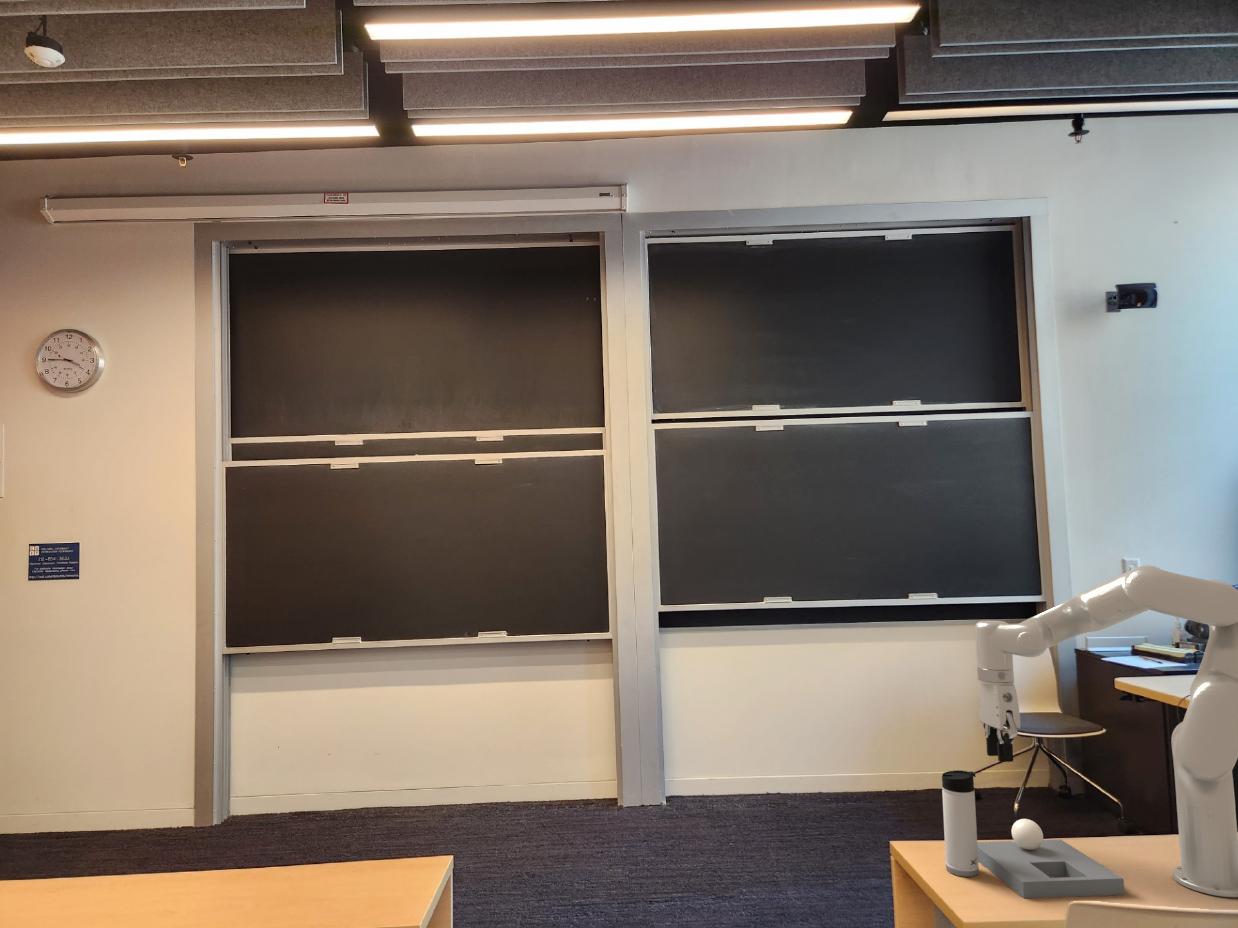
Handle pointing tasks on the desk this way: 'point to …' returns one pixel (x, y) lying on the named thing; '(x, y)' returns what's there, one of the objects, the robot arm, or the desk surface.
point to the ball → (1027, 834)
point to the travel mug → (960, 823)
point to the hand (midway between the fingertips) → (1000, 757)
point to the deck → (1048, 870)
